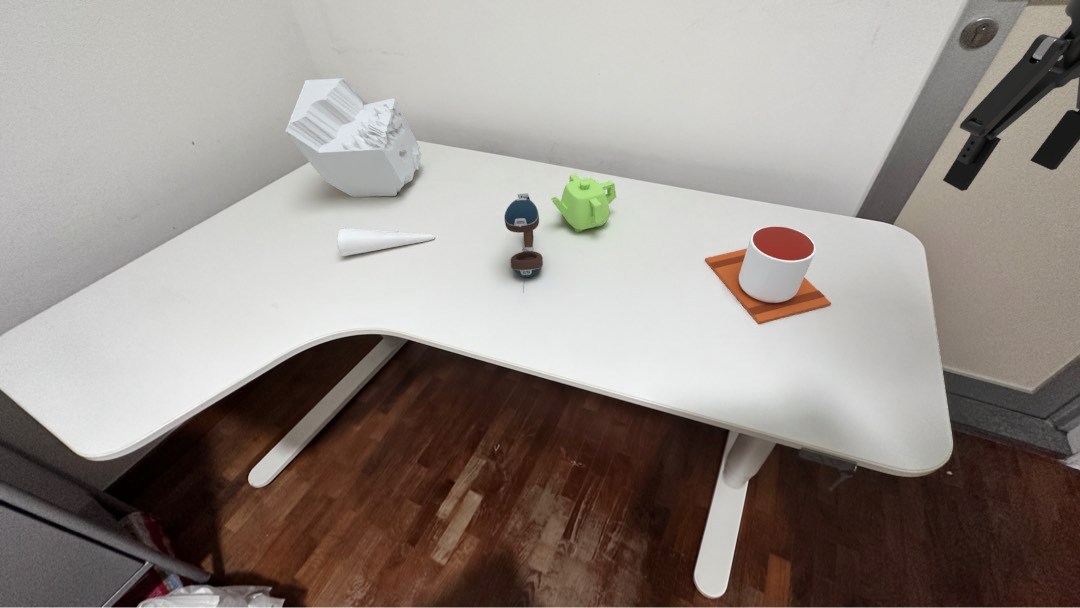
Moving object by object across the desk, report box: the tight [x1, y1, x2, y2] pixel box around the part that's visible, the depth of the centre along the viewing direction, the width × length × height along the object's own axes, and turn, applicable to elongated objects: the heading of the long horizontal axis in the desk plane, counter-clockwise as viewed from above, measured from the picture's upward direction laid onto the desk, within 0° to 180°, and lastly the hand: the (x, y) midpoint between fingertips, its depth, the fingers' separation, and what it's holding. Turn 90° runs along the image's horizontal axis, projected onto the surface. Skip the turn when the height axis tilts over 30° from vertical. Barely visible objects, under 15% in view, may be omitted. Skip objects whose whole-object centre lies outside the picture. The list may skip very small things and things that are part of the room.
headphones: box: [503, 192, 544, 294], centre depth 87 cm, size 6×15×22 cm
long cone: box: [336, 227, 436, 257], centre depth 98 cm, size 6×6×19 cm
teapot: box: [550, 173, 617, 233], centre depth 99 cm, size 12×12×10 cm
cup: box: [739, 225, 817, 303], centre depth 80 cm, size 10×10×10 cm
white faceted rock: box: [285, 77, 422, 198], centre depth 110 cm, size 20×16×25 cm
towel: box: [704, 248, 832, 325], centre depth 85 cm, size 18×14×1 cm
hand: (999, 175), depth 58 cm, fingers open, 13 cm apart
